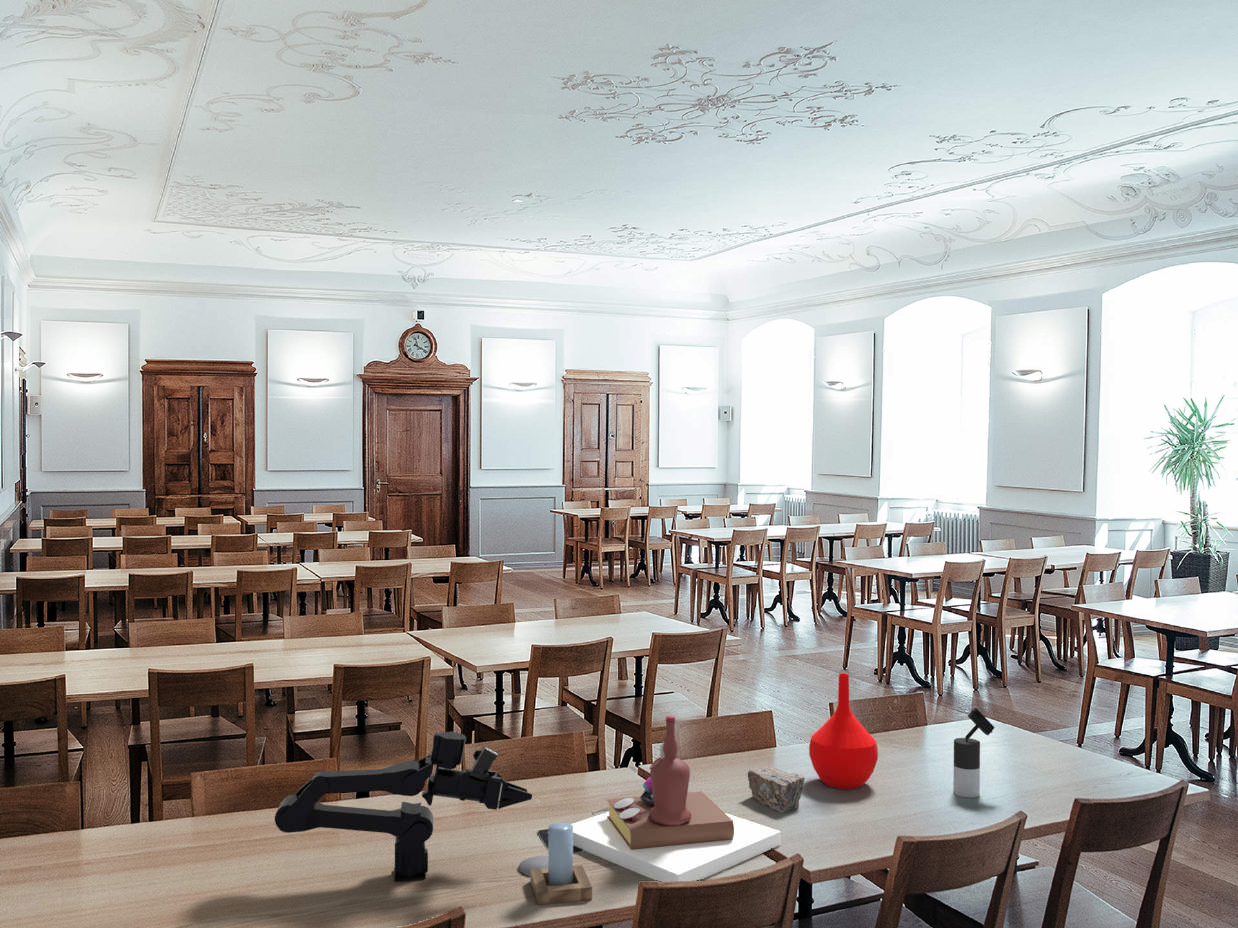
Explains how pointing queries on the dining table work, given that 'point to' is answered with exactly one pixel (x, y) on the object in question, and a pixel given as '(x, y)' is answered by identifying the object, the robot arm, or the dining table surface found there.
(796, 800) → the stone block
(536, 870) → the pocket block
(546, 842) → the black cell phone
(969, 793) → the track light
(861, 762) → the vase
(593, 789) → the dining table surface
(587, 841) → the decorative still life
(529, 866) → the coaster
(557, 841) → the pale blue cylinder
